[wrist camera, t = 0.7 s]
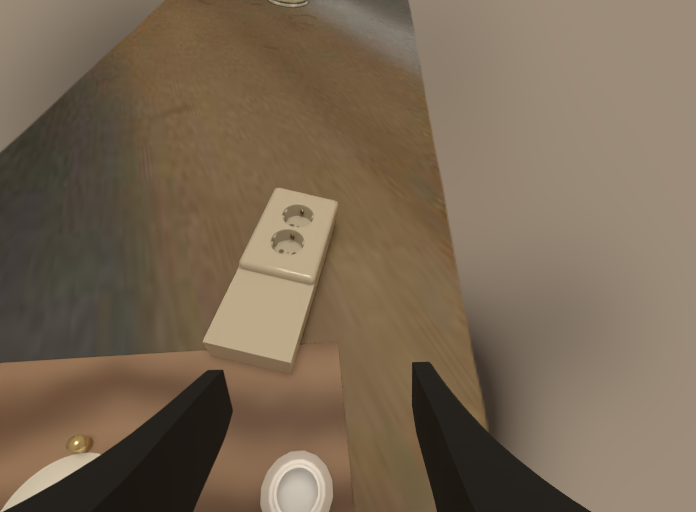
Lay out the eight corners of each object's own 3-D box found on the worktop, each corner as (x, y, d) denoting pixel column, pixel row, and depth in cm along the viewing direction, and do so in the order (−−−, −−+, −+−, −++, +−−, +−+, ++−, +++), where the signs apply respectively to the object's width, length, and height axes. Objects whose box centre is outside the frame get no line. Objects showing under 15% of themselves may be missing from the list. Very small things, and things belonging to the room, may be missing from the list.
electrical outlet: (199, 337, 25) (275, 184, 36) (210, 355, 28) (277, 210, 39) (290, 358, 25) (339, 199, 36) (291, 374, 28) (335, 224, 39)
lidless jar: (329, 449, 26) (263, 454, 25) (333, 444, 23) (260, 450, 22) (333, 532, 23) (258, 542, 22) (338, 537, 20) (254, 547, 20)
